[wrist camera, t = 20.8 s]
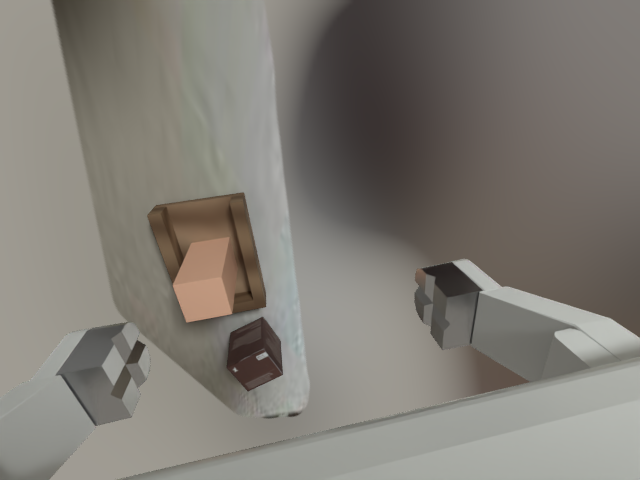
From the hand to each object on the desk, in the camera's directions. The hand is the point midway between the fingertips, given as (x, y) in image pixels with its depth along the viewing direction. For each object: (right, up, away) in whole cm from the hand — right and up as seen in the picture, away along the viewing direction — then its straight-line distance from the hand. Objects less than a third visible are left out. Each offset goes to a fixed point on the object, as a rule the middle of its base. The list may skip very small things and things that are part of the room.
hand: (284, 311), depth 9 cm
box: (-9, -13, +42) cm, 45 cm away
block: (-13, 0, +34) cm, 36 cm away
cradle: (-13, 0, +35) cm, 37 cm away
